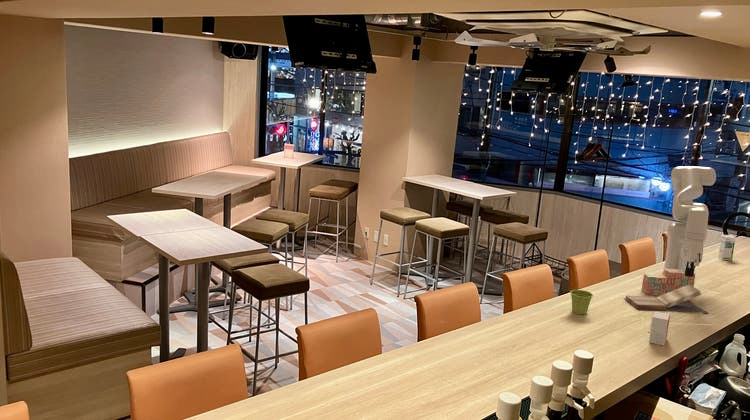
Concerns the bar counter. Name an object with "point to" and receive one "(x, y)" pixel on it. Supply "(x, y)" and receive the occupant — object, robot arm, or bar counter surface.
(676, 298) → the plank
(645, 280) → the stack of blocks
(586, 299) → the plant pot
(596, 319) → the bar counter surface
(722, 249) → the syrup box
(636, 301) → the laid board
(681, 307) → the underlay mat
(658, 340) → the small box
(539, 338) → the bar counter surface
